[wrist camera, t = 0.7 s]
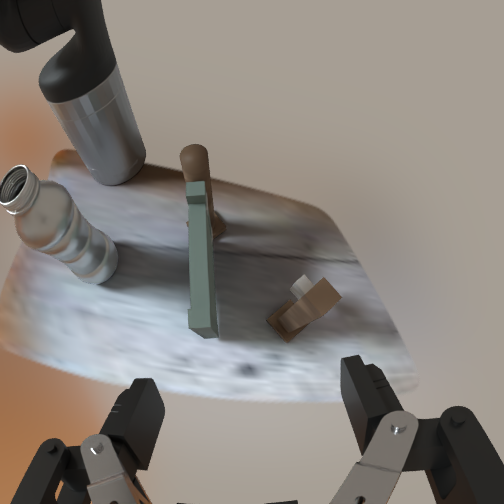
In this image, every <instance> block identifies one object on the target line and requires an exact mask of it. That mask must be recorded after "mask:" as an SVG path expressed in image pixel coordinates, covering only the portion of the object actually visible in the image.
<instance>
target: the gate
mask: <svg viewBox="0 0 504 504" xmlns="http://www.w3.org/2000/svg"><path fill="white" fill-rule="evenodd" d="M186 199H187V202H188V212H189V275H190V301H191V309H188V324H189V329H191V330H192V331H194V332H195V333H197V334H198V335H200V336H201V337H203V338H204V339H206V338H219V333H218V324H217V311H216V296H215V280H214V261H213V234H212V227H211V222H210V215H209V208H208V198H207V193H206V188H205V181H197V182H186Z"/></svg>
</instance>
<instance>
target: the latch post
mask: <svg viewBox="0 0 504 504" xmlns="http://www.w3.org/2000/svg"><path fill="white" fill-rule="evenodd" d="M289 290H290V291H291V292H292V293H293V294H294V295H295V296H296V297H297V299H298V301H297V302H296V303H295V304H294V303H293V302H292V301H291V299H290V300H289V301H288V302H287V303H285V304H284V305H283V306H282V307H281V308H280V309H278V310H277V311H276V312H275V313H274V314H272V315H271V316H270V317H269V318H268V319H267V320H266V321H267V322H268V323H269V324H270V325H271V326H272V327H273V329H274V330H275V331H276V332H277V333H278V334H279V336H280V337H281V338H282V339H283V340H284V341H285V342H286V343H288V342H289V341H290V340H291V339H292V338H293V337H295V336H296V335H297V334H298V333H299V332H300V331H301V330H302V329H303V328H305V327H306V326H307V325H308V324H309V323H310V322H312V321H314V320H316V319H318V318H320V317H322V316H323V315H324V314H325V313H327V312H328V311H329V310H330V309H331V308H332V307H333V306H334V305H335V304H336V303H337V302H338V301H339V300H340V299H341V298H342V297H341V296H340V294H339V293H338V292H337V291H336V290H335V289H334V288H333V287H332V285H331V284H330V283H329V282H328V281H327V280H326V279H325V278H324V277H323V278H322V279H321V280H320V281H319V282H318V283H317V284H316V285H315V286H314V285H313V283H312V282H311V281H310V280H309V279H308V278H307V277H306V276H305V274H304V275H303V276H302V277H300V278H299V279H298V280H297V281H296V282H295V283H294V284H293V285H292V287H291V288H290V289H289Z"/></svg>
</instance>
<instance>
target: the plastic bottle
mask: <svg viewBox="0 0 504 504" xmlns="http://www.w3.org/2000/svg"><path fill="white" fill-rule="evenodd" d="M0 204H1V205H2V206H3V207H4V208H6V210H7V212H8V213H10V214H11V215H12V216H14V222H15V227H16V231H17V234H18V236H19V237H20V239H21V240H22V242H23V243H24V244H25V245H27V246H28V247H30V248H32V249H34V250H37V251H39V252H42V253H45V254H47V255H50V256H52V257H54V258H55V259H57V260H59V261H61V262H62V263H64V264H65V265H66V266H67V267H68V268H69V269H70V270H71V271H72V272H73V273H74V274H75V275H76V276H77V277H78V278H79V279H80V280H81V281H83V282H86V283H90V284H100V283H103V282H105V281H106V280H108V279H109V278H110V277H111V276H112V274H113V273H114V271H115V269H116V267H117V263H118V253H117V249H116V247H115V245H114V243H113V241H112V240H111V238H110V237H109V236H108V235H106V234H105V233H103V232H102V231H100V230H98V229H96V228H95V227H93V226H92V225H91V224H90V223H88V221H87V220H86V219H85V218H84V216H83V215H82V214H81V213H80V211H79V210H78V208H77V206H76V204H75V203H74V201H73V199H72V197H71V195H70V194H69V192H68V191H67V190H66V188H65V187H64V186H62V185H60V184H58V183H56V182H54V181H48V180H42V181H39V179H38V177H37V176H36V175H35V174H34V173H32V172H31V171H30V170H29V169H28V167H26V166H25V165H17V166H15V167H13V168H11V169H10V170H9V171H8V172H7V173H6V174H5V176H4V177H3V179H2V180H1V182H0Z"/></svg>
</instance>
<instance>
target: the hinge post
mask: <svg viewBox="0 0 504 504" xmlns="http://www.w3.org/2000/svg"><path fill="white" fill-rule="evenodd" d="M180 160H181V165H182V169H183V173H184V178H185V182H197V181H205V188H206V193H207V198H208V208H209V215H210V222H211V227H212V234H213V239H214V238H215V237H217V236H218V235H219V234H221V233H222V232H224V231H225V230H226V225H225V224H224V223H223V222H222V221H221V220H220V219H219V217H218V216H217V215H216V214H215V213H214V206H213V198H212V189H211V180H210V170H209V162H208V152H207V150H206V148H205V147H203V146H202V145H199V144H193V145H189V146H186V147H185V148H184V149H183V150H182V151H181V153H180ZM186 223H187V226H188V227H189V221H188V222H186Z"/></svg>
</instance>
